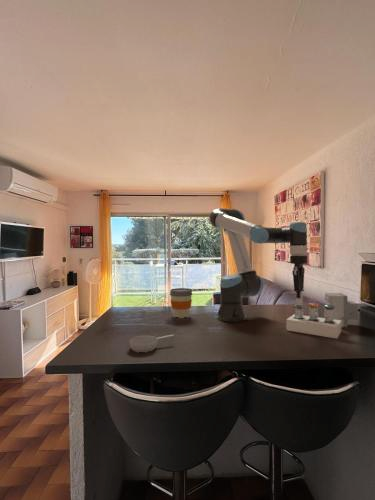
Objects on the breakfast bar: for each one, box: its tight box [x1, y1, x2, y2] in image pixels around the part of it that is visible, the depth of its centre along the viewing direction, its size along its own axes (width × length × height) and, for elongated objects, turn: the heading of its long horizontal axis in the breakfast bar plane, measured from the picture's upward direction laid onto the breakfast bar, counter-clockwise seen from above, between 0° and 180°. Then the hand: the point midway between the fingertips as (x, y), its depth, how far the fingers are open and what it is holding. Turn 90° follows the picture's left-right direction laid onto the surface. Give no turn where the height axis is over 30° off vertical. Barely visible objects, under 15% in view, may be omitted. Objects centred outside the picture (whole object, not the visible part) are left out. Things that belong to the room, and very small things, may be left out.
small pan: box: [129, 333, 175, 353], centre depth 110 cm, size 11×18×4 cm, turn 114°
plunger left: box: [293, 304, 305, 320], centre depth 132 cm, size 4×4×9 cm
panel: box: [286, 313, 342, 339], centre depth 128 cm, size 21×12×5 cm, turn 54°
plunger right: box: [323, 304, 335, 324], centre depth 125 cm, size 4×4×9 cm
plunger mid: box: [308, 302, 320, 322], centre depth 128 cm, size 4×4×9 cm
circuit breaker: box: [324, 292, 361, 328], centre depth 137 cm, size 8×14×15 cm, turn 78°
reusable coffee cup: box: [169, 287, 193, 319], centre depth 158 cm, size 13×13×15 cm
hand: (299, 304), depth 132 cm, fingers closed
